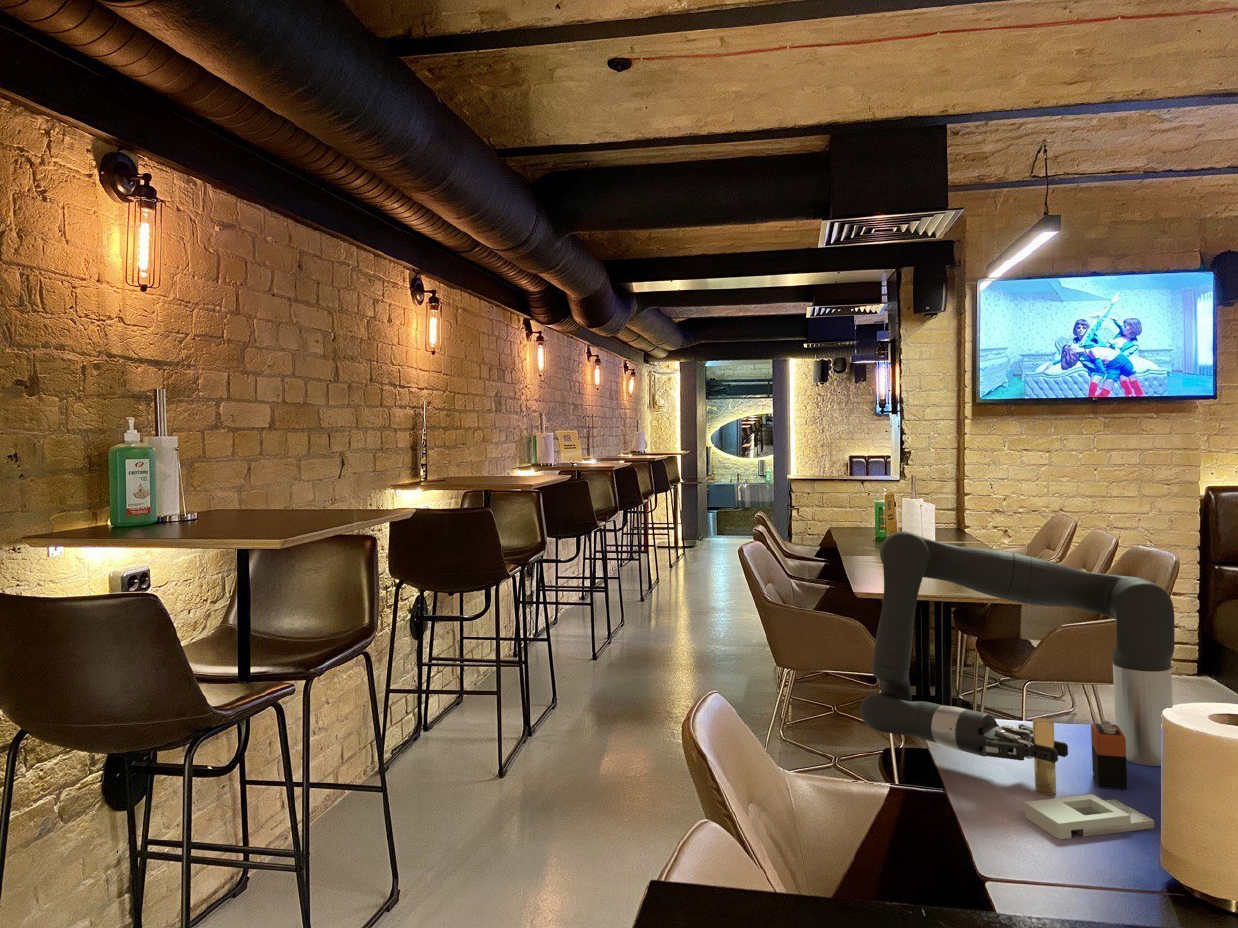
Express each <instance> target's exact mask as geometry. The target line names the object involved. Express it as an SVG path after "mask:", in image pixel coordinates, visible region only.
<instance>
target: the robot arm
mask: <svg viewBox="0 0 1238 928" xmlns="http://www.w3.org/2000/svg"><path fill="white" fill-rule="evenodd" d="M879 549H880V550H879V556H880V561H881V563H882V566H883V567H882V568H883V570H882V571H883V599H882V607H881V612H880V617H879V621H878V627H877V631H876V636H875V641H874V642H875V643H874V651H873V658H872V665H871V666H872V667H871V669H872V676H873V677H874V678H876V679H877V680H878V681H880V687H881V688H880V691H881V692H879V693H877V692H876V693H871V694H870V695H867V696H865V697H864V699H863V700H862V701H861V702H860V704H859V705H860V706H859V715H860V717H861V719H862V722H864V723H865V725H866V726H868V727H869V728H870V729H872V730H874V731H876V732H877V731H878V732H882V733H887V734H892V735H899V736H900V735H901V736H902V735H903V736H908V737H909V736H910V737H914V738H918V739H921V740H924V741H928V742H931V743H936V744H940V745H942V746H945V747H947V748H949V749H954V750H957V751H960V752H965V753H968V754H973V755H977V756H980V757H991V758H999V759H1006V760H1013V761H1014V760H1015V761H1025V758H1026V759H1028V760H1031V759H1032V760H1033V759H1034V758H1037V759H1041V760H1045V761H1049V762H1053V763H1055V764H1056V763H1057V762H1058V761H1059V757H1063V758H1066V757H1067V756H1068V755H1069V747H1068V744H1067V743H1066V742H1063V741H1058V740H1054V743H1055V748H1051V747H1046V746H1042V745H1038V744H1034V745H1033V727H1031V726H1029V725H1026V724H1024V723H1019V724H1018V725H1017V727H1018V728H1015V727H1014V726H1011V725H1001V726H1000V725H999V724H998V723H997V721H996V719H995V717H994V716H993V715H991V714H989V713H986V712H982V711H977V710H973V709H968V708H963V707H959V706H952V705H951V706H950V705H942V704H938V703H933V702H929V701H925V700H924V701H921V700H920V701H919V700H918V701H917V700H916V701H913V700H912V691H911V683H910V678H909V674H910V673H909V672H910V667H911V660H912V658H911V657H912V650H913V638H914V625H915V624H914V623H915V614H916V607H917V603H918V602H917V601H918V597H919V592H920V588H921V585H922V584H921V583H922V581H923V578H924V579H925V578H926V579H931V580H933V579H934V580H939V581H945V582H949V583H952V584H957V585H958V586H961V587H964V588H966V589H969V590H972V591H975V592H978V593H980V594H981V593H982V594H983V595H987V596H991V597H994V598H998V599H1002V600H1006V601H1011V602H1015V603H1020V604H1026V605H1032V606H1042V607H1044V606H1045V607H1065V608H1066V607H1067V608H1076V609H1079V610H1085V611H1088V612H1092V613H1094V614H1095V613H1096V614H1099V615H1103V616H1104V617H1105V616H1106V617H1108V618H1111V619H1114V620H1116V643H1115V646H1114V647H1113V649H1112V653H1111V655H1112V656H1111V657H1112V675H1113V677H1112V679H1113V698H1114V699H1113V701H1114V702H1113V703H1114V725H1117V726H1118V727H1119V728H1120V730H1121V731H1122V733H1123V735H1124V736H1125V738H1126V759H1127V762H1130V763H1134V764H1138V765H1143V766H1150V767H1151V766H1152V767H1153V766H1154V767H1162V766H1161V731H1160V730H1161V724H1162V717H1161V714H1162V711H1163V710H1164V709H1166V708H1172V707H1174V705H1173V704H1174V701H1173V700H1174V699H1173V697H1174V696H1173V677H1172V676H1173V675H1172V658H1173V656H1174V654H1175V653H1174V652H1175V637H1176V636H1175V635H1176V634H1175V631H1176V630H1175V609H1174V603H1173V600H1172V598H1171V596H1170V594H1169V593H1168V592H1167V591H1166V590H1165V589H1164V588H1163V587H1161V586H1159V585H1158V584H1156V583H1153V582H1152V581H1149V580H1147V579H1145V578H1141V577H1137V576H1125V575H1115V574H1106V573H1099V572H1092V571H1091V572H1090V571H1085V570H1080V569H1076V568H1073V567H1069V566H1067V565H1063V564H1061V563H1057V562H1053V561H1049V560H1046V559H1041V558H1038V557H1035V556H1029V555H1025V554H1021V553H1020V554H1019V553H1014V552H1008V551H1004V550H1002V551H1001V550H995V549H989V548H988V549H987V548H980V547H979V548H978V547H968V546H967V547H966V546H959V545H958V546H957V545H953V544H952V545H951V544H949V543H948V544H947V543H944V542H941V541H936V540H933V539H930V538H926V537H923V536H920V535H918V534H916V533H913V532H909V531H904V530H903V531H902V530H901V531H897V532H893V533H892V534H890V535H888V536H886V538H884V540H883V541H882V543H881V546H880V548H879Z"/></svg>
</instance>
